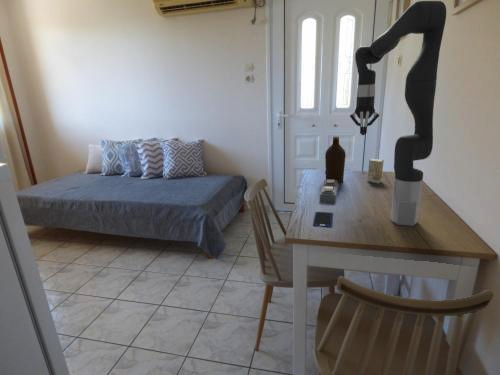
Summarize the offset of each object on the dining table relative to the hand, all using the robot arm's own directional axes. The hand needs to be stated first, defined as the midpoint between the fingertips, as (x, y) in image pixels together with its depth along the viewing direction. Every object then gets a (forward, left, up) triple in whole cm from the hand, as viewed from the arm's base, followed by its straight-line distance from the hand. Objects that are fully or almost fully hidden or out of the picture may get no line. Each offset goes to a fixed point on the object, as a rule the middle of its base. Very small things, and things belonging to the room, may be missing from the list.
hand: (363, 134), depth 138 cm
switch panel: (-2, +14, -29) cm, 32 cm away
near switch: (-8, +14, -24) cm, 29 cm away
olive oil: (+19, +13, -29) cm, 37 cm away
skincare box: (+22, -8, -29) cm, 37 cm away
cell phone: (-33, +14, -30) cm, 46 cm away
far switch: (+4, +14, -24) cm, 28 cm away
